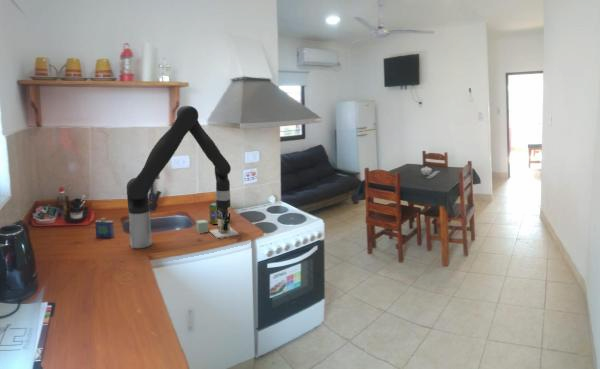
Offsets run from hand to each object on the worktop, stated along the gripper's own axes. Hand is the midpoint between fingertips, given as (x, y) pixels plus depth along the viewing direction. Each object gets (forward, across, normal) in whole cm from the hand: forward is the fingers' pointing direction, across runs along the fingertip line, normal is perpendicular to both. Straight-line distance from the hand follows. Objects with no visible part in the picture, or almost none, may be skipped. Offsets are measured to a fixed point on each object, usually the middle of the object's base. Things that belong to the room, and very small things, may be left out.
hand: (223, 228), depth 197 cm
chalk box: (+3, -20, +5) cm, 21 cm away
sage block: (+3, -9, -9) cm, 13 cm away
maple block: (+1, 0, 0) cm, 1 cm away
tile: (+3, 0, 0) cm, 3 cm away
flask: (+3, -24, -55) cm, 60 cm away
